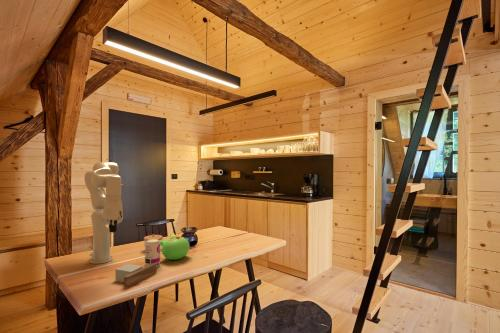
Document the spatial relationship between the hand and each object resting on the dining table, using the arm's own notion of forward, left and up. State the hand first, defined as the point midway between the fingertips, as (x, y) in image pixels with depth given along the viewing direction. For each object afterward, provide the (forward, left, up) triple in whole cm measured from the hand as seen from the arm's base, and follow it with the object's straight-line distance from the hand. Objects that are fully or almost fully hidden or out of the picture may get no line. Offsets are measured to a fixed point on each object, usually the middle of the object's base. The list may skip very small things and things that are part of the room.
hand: (112, 231), depth 145 cm
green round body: (+16, +33, -23) cm, 44 cm away
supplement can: (+12, +17, -23) cm, 31 cm away
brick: (+13, -2, -23) cm, 27 cm away
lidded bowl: (-9, +42, -23) cm, 49 cm away
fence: (+20, 0, -23) cm, 30 cm away
